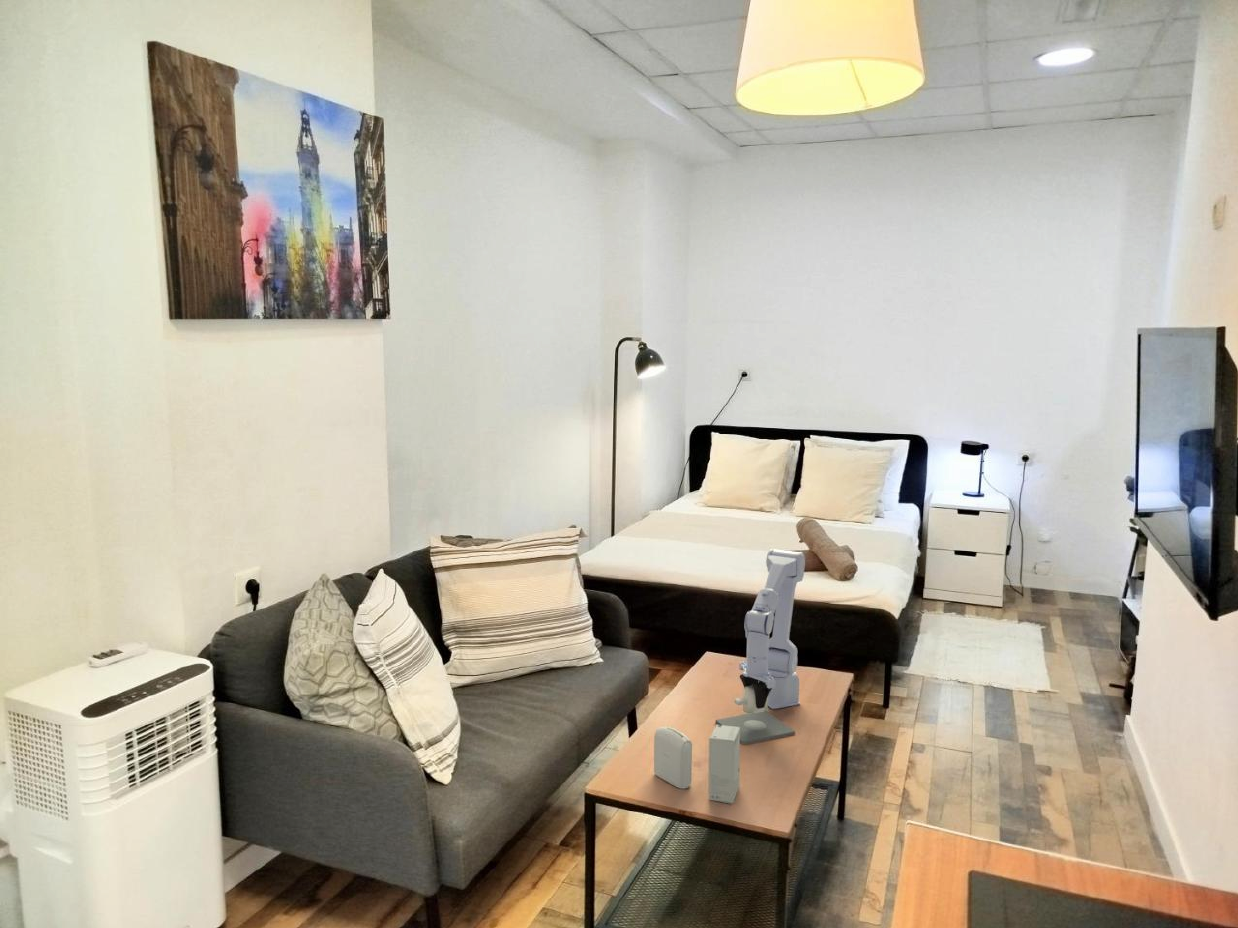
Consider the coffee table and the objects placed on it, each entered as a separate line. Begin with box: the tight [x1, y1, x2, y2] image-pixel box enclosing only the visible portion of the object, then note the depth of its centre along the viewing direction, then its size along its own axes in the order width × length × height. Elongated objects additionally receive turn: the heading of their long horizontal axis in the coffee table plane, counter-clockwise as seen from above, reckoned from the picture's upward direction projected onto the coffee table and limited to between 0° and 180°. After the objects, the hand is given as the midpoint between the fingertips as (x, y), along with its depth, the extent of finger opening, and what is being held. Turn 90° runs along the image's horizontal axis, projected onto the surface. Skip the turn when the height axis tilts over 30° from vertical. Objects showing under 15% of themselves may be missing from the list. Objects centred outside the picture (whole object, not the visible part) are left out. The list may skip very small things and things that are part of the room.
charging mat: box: [715, 710, 796, 745], centre depth 231 cm, size 16×14×1 cm
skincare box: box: [708, 724, 741, 805], centre depth 196 cm, size 8×6×15 cm
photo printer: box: [653, 725, 693, 790], centre depth 202 cm, size 10×4×12 cm, turn 39°
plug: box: [734, 685, 769, 714], centre depth 229 cm, size 9×4×6 cm, turn 114°
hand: (755, 704), depth 230 cm, fingers closed on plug, 4 cm apart
